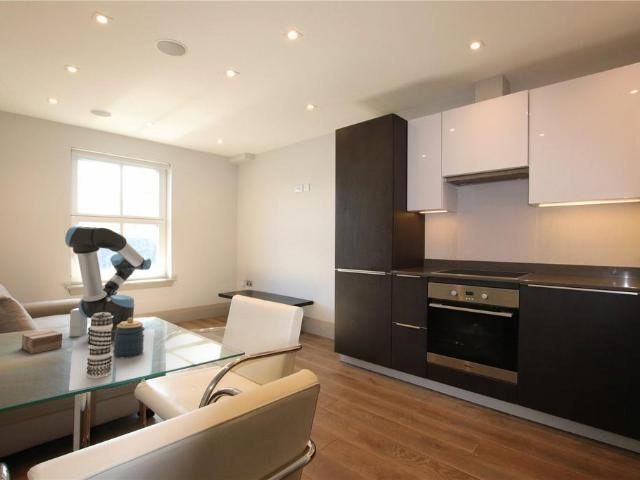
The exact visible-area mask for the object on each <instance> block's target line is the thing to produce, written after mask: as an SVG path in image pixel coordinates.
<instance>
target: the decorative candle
mask: <svg viewBox="0 0 640 480" xmlns="http://www.w3.org/2000/svg"><path fill="white" fill-rule="evenodd" d="M113 317H114V316H112V315H111V313H109V312H100V313H96V314H94V315H93V316H92V317H91V318H90V325H89V327H87V335H88V337H87V343H88V347H87V348H88V349H89V352H88V358H87V360H86V361H87V363H86V365H87V367H86V377H87V378H89V379H98V378H99V379H101V378H104V377H107V376H110V375H111V374H112V372H111V371H112V357H113V356H112V346H113V342H114V341H113V339H111V337H113V336H114V335H113V334H111V333H114V331H113V330H112V327H113V328H114V327H115V326H113V323H112V318H113ZM106 375H107V376H106Z"/></svg>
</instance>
